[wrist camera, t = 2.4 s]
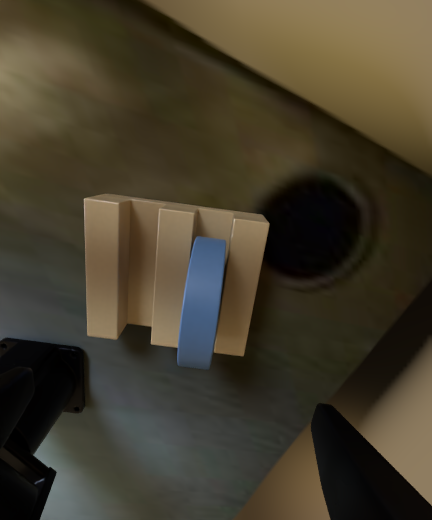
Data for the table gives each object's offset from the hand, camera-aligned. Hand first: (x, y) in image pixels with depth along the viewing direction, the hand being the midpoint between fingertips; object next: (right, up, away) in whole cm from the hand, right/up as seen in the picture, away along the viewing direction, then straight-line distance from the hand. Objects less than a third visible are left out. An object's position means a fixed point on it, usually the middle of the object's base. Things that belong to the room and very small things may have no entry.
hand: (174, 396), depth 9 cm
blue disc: (+1, +3, +10) cm, 10 cm away
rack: (-1, +4, +11) cm, 12 cm away
